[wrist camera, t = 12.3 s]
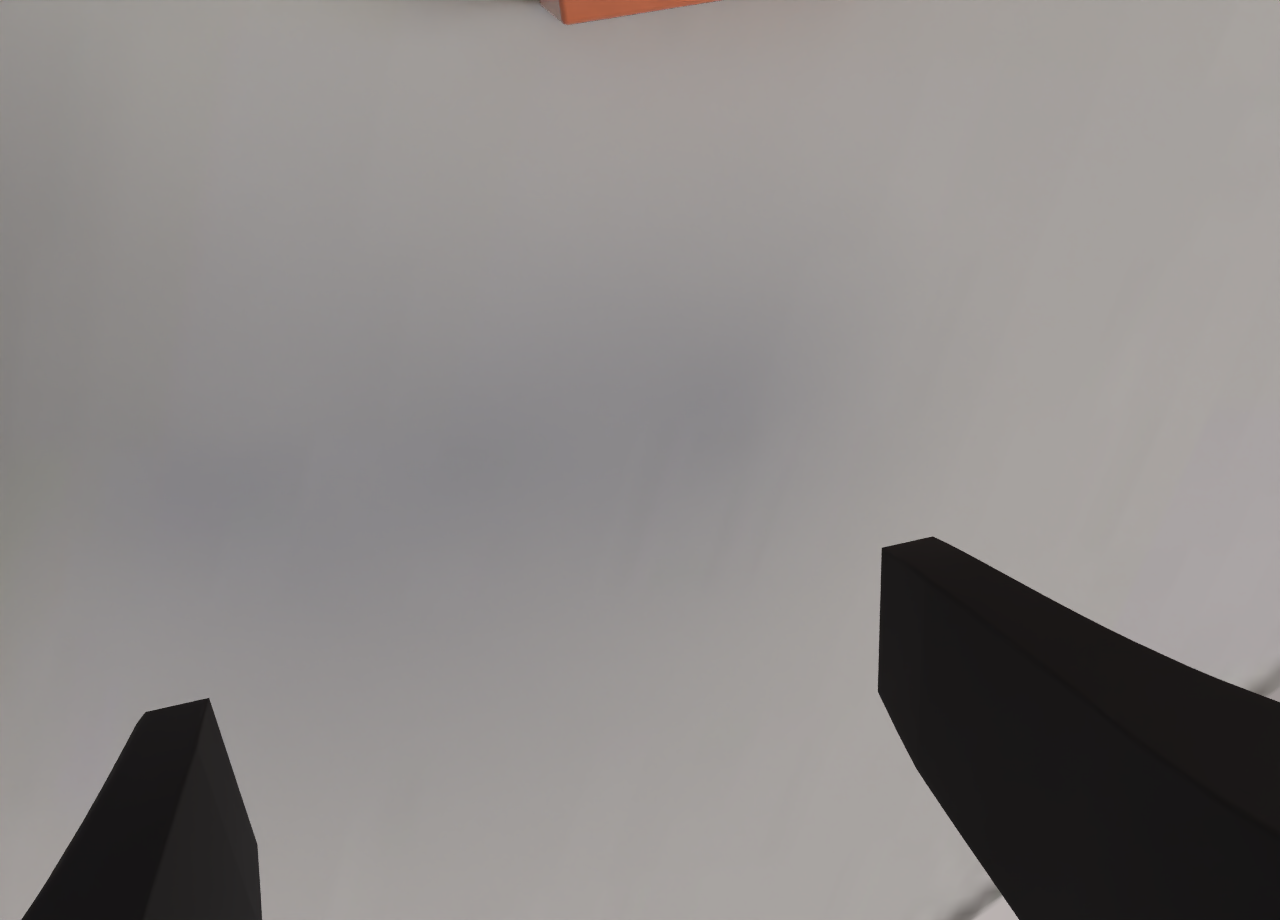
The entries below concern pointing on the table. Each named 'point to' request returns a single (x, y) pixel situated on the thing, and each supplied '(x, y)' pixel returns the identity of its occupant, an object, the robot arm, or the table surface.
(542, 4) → the terracotta coaster
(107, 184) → the table surface
